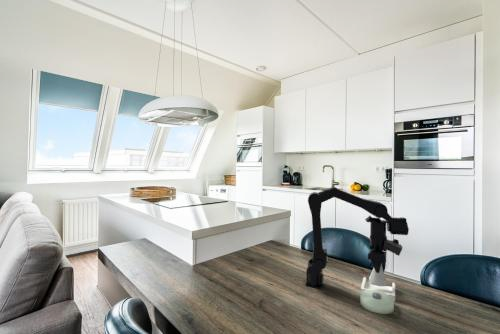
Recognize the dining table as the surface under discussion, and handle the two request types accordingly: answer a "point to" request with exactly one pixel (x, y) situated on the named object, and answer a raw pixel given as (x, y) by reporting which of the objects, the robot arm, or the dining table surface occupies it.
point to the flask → (378, 278)
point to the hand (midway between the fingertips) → (377, 271)
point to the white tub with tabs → (377, 297)
